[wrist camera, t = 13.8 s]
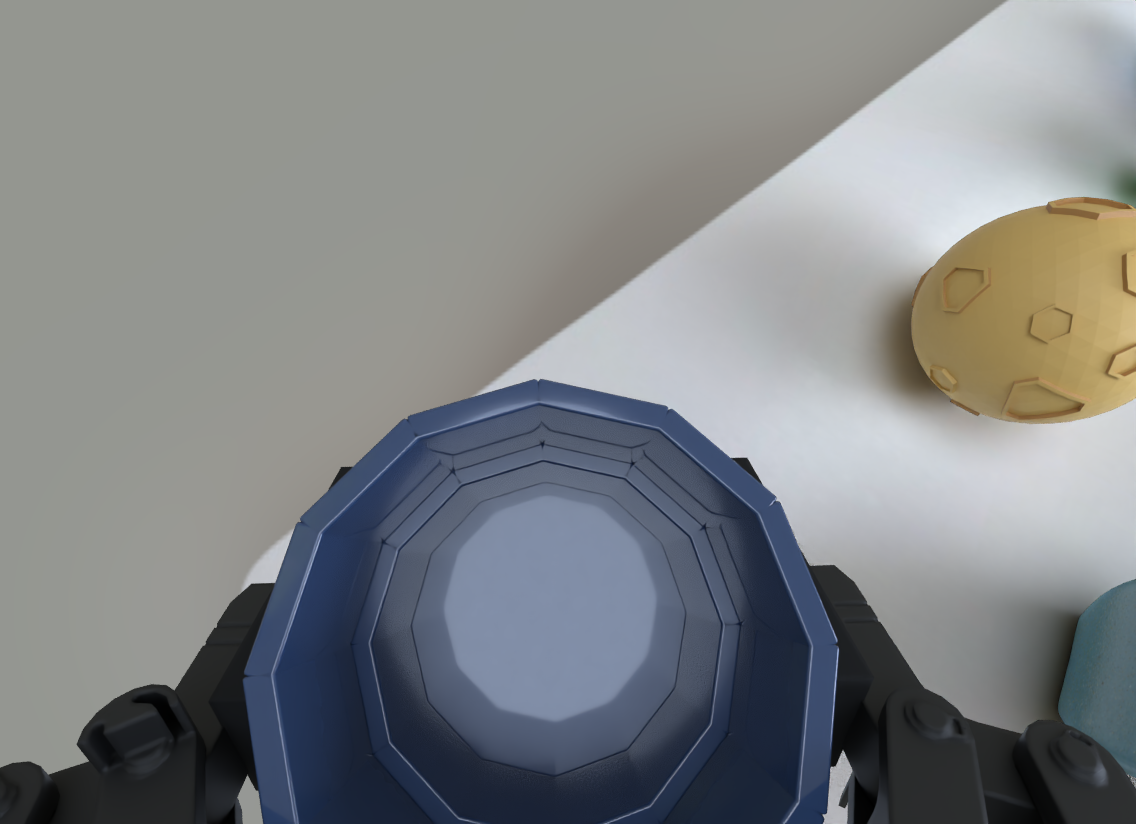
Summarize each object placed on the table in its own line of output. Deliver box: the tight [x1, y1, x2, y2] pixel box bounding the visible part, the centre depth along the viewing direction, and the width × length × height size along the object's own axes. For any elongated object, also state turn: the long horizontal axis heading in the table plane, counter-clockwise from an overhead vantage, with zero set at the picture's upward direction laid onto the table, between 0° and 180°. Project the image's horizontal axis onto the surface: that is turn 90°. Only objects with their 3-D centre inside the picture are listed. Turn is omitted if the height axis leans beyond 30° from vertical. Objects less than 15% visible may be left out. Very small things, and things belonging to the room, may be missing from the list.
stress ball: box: [911, 197, 1136, 424], centre depth 25 cm, size 10×10×10 cm
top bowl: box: [243, 379, 839, 824], centre depth 12 cm, size 9×9×7 cm
